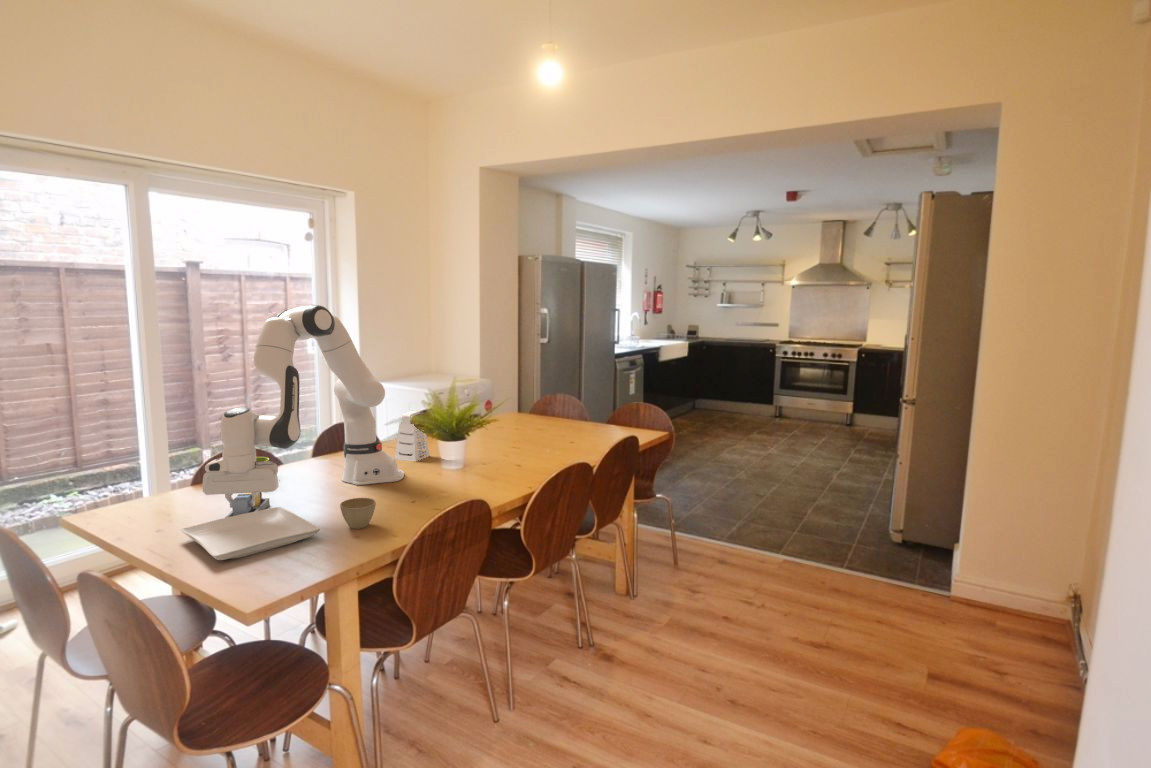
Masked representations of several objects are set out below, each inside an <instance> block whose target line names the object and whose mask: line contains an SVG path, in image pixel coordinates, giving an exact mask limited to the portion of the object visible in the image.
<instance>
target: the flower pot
mask: <svg viewBox="0 0 1151 768" xmlns="http://www.w3.org/2000/svg"><path fill="white" fill-rule="evenodd" d="M339 504H340V505H339V507H340V511H341V514H342V517H343V520H344V521H345V523H346V524H347V526H348V527H349V528H350V529H353V530H354V529H355V530H358V529H363V528H366V527H367V526H368V525H369V524H370V522H371V520H372V518H373V516H374V513H375V510H376V505H377V501H376V499H373V498H370V497H353V498H348V499H345V500H343V501H341V502H340V503H339Z"/></svg>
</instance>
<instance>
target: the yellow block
mask: <svg viewBox="0 0 1151 768" xmlns="http://www.w3.org/2000/svg"><path fill="white" fill-rule="evenodd" d="M258 493H259V494H258V496H257V497H256V499H255V506H260V505H261V504H262V499H263V497H262V495H263V492H258ZM245 494H251V493H245ZM252 498H253V496H252Z"/></svg>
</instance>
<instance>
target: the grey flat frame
mask: <svg viewBox="0 0 1151 768" xmlns="http://www.w3.org/2000/svg"><path fill="white" fill-rule="evenodd" d="M269 506H270V498H269V497H268V498H267V497H265V498H263V497H262V504H261V505H260V506H254V507H253V508H252V509H251V510H250V511H249V512H248V513H250V512H255V511H260V510H265V509H268V508H269ZM231 516H236V515H233V509H232V510H231V511H230V512H229V513H227V515H226V516H225V517H224V518H227V517H231Z"/></svg>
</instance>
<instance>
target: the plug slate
mask: <svg viewBox="0 0 1151 768" xmlns="http://www.w3.org/2000/svg"><path fill="white" fill-rule="evenodd" d="M249 500H252V496H251V494H246V493H237V496H235V498H233V501H232V510H233V515H240V514H245V513H248V512H249V511H250V510H251V509H252V508H253V507H248V505H249V504H248V501H249Z"/></svg>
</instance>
